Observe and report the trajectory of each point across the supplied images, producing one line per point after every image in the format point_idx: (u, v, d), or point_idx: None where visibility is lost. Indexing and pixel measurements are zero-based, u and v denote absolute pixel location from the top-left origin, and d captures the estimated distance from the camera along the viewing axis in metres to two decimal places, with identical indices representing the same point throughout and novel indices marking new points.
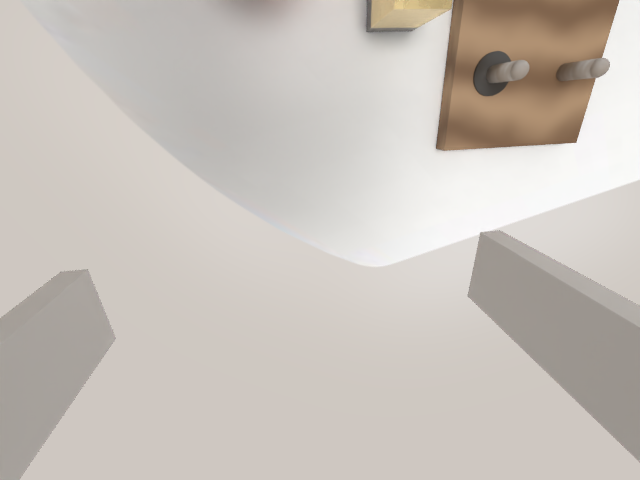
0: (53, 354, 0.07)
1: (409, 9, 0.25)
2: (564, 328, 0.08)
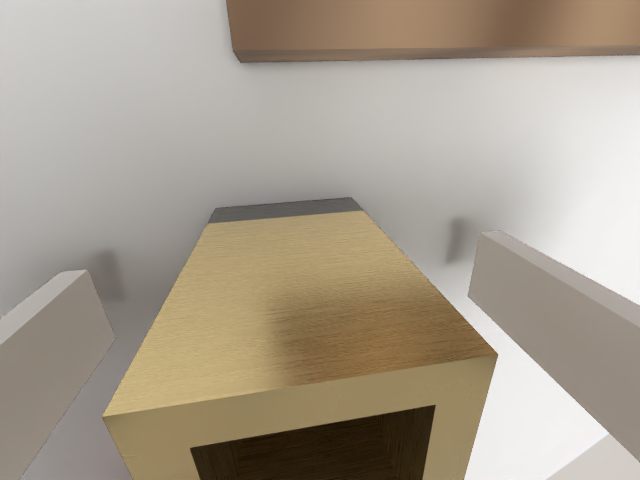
0: (53, 354, 0.07)
1: None
2: (564, 328, 0.08)
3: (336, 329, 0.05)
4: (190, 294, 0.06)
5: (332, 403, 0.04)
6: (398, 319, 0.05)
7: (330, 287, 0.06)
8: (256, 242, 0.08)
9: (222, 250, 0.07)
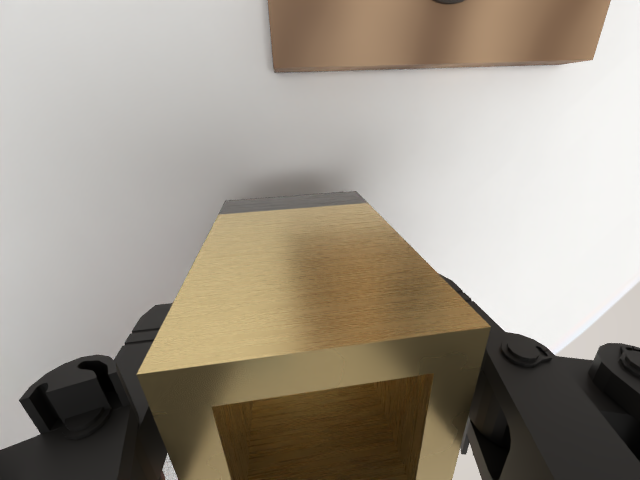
0: None
1: None
2: None
3: (343, 305, 0.05)
4: (207, 275, 0.06)
5: (340, 368, 0.04)
6: (399, 297, 0.05)
7: (337, 270, 0.06)
8: (266, 231, 0.08)
9: (234, 238, 0.08)
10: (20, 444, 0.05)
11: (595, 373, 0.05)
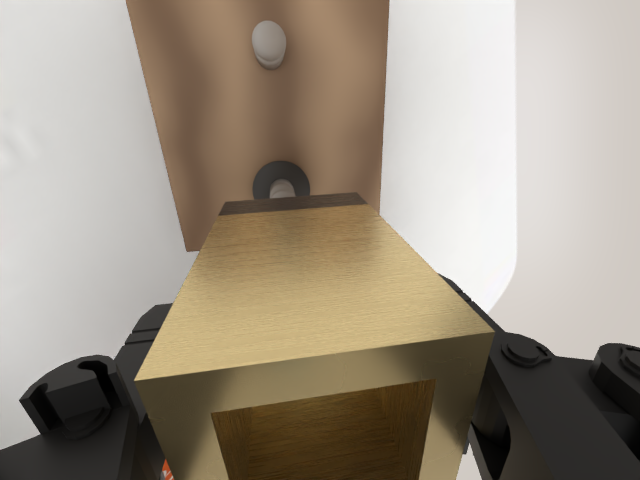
0: None
1: None
2: None
3: (344, 309, 0.05)
4: (206, 278, 0.06)
5: (341, 374, 0.04)
6: (402, 301, 0.05)
7: (338, 272, 0.06)
8: (266, 232, 0.08)
9: (234, 240, 0.08)
10: (20, 444, 0.05)
11: (596, 373, 0.05)
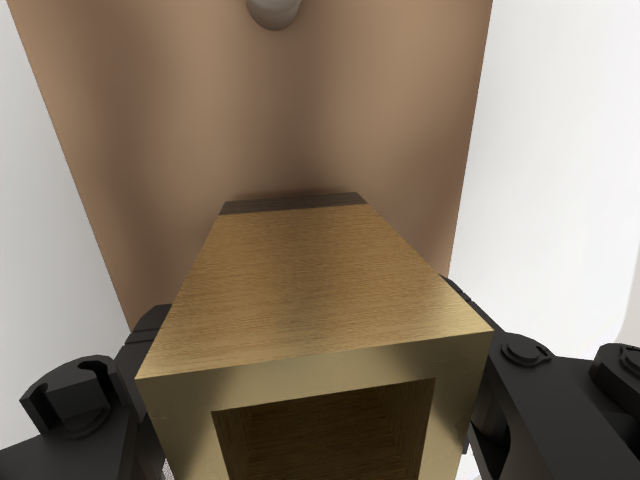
0: None
1: None
2: None
3: (344, 308, 0.05)
4: (206, 278, 0.06)
5: (341, 373, 0.04)
6: (401, 300, 0.05)
7: (338, 272, 0.06)
8: (266, 232, 0.08)
9: (234, 239, 0.08)
10: (20, 444, 0.05)
11: (596, 372, 0.05)
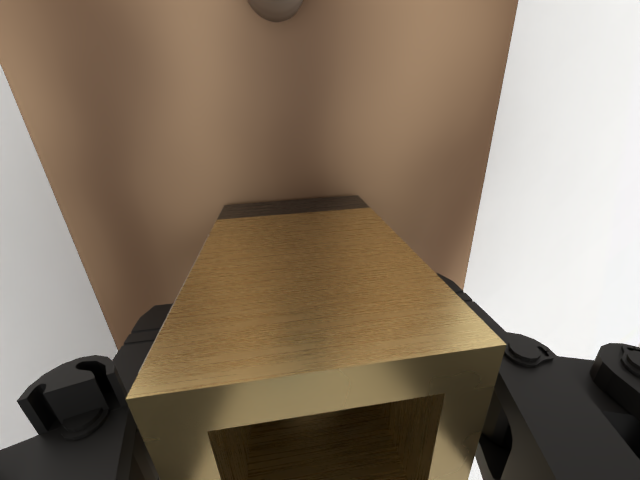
0: None
1: None
2: None
3: (347, 320, 0.05)
4: (203, 286, 0.06)
5: (345, 390, 0.04)
6: (407, 311, 0.05)
7: (340, 280, 0.06)
8: (265, 237, 0.08)
9: (232, 245, 0.08)
10: (18, 445, 0.05)
11: (597, 372, 0.05)
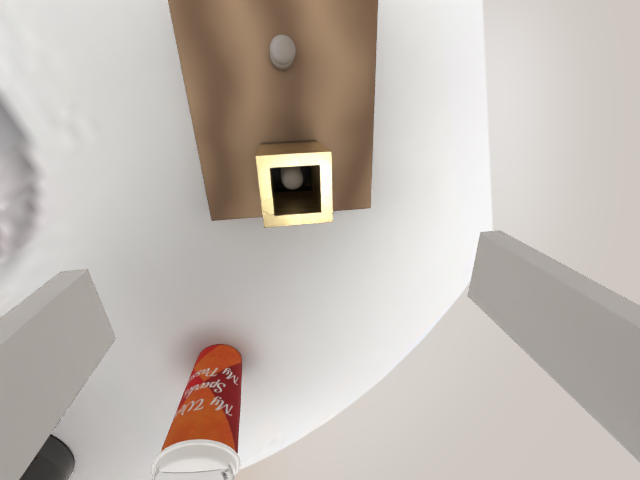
0: (53, 354, 0.07)
1: (331, 203, 0.21)
2: (564, 328, 0.08)
3: (299, 151, 0.20)
4: (263, 150, 0.21)
5: (297, 160, 0.20)
6: (314, 150, 0.21)
7: (300, 149, 0.21)
8: (278, 146, 0.24)
9: (268, 147, 0.23)
10: None
11: None
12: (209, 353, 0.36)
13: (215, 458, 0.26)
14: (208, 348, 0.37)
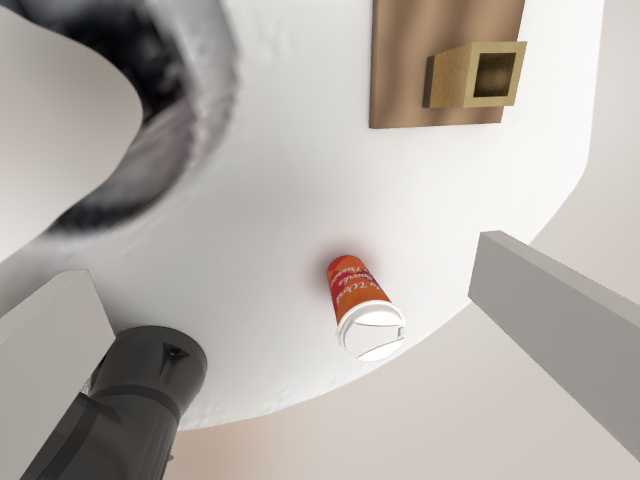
0: (53, 354, 0.07)
1: (515, 88, 0.27)
2: (564, 328, 0.08)
3: None
4: None
5: (501, 47, 0.25)
6: None
7: None
8: None
9: None
10: None
11: None
12: (344, 260, 0.42)
13: (396, 314, 0.31)
14: (340, 258, 0.43)
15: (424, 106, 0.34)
